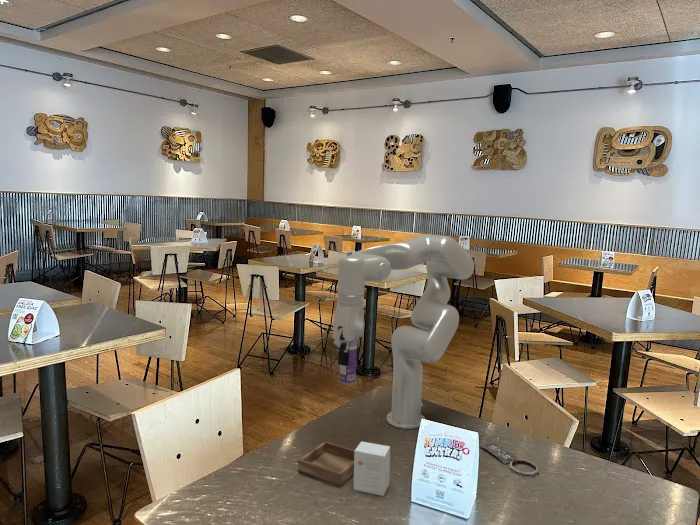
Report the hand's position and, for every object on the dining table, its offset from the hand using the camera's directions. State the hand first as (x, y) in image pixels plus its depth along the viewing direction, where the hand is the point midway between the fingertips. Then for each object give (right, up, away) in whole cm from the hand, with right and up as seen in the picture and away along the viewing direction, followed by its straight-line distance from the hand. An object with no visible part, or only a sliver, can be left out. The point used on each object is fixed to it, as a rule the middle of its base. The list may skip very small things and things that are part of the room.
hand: (348, 361), depth 149 cm
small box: (+6, -28, -18) cm, 34 cm away
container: (0, -6, +1) cm, 6 cm away
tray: (-4, -27, -10) cm, 29 cm away
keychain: (+45, -28, -2) cm, 53 cm away
